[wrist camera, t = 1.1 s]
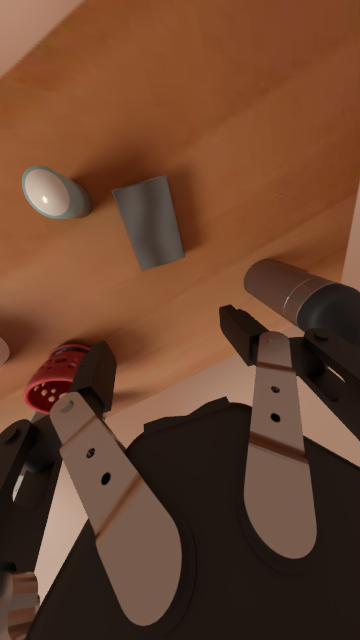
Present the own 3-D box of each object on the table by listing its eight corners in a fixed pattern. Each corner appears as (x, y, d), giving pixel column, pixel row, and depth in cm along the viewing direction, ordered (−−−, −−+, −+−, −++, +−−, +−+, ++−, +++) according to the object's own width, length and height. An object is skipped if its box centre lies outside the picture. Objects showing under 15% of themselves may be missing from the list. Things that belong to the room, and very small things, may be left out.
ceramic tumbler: (81, 177, 27) (54, 159, 19) (97, 213, 30) (80, 212, 21) (50, 186, 27) (10, 172, 18) (69, 221, 29) (42, 223, 21)
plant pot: (38, 362, 43) (8, 407, 33) (67, 329, 40) (43, 367, 30) (86, 381, 50) (73, 423, 40) (114, 354, 46) (107, 392, 36)
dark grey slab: (163, 177, 29) (167, 173, 26) (181, 254, 36) (186, 258, 33) (113, 192, 29) (110, 189, 25) (141, 266, 36) (142, 272, 33)
